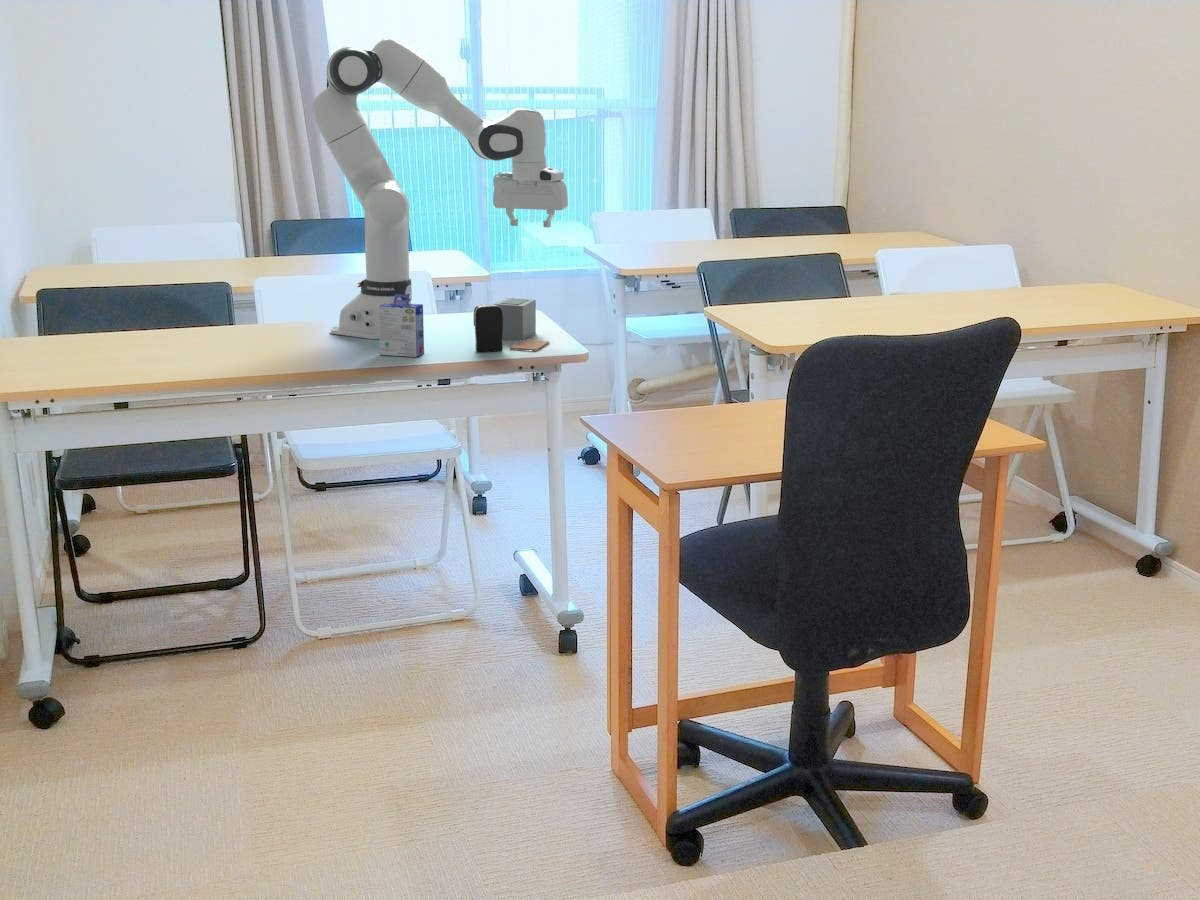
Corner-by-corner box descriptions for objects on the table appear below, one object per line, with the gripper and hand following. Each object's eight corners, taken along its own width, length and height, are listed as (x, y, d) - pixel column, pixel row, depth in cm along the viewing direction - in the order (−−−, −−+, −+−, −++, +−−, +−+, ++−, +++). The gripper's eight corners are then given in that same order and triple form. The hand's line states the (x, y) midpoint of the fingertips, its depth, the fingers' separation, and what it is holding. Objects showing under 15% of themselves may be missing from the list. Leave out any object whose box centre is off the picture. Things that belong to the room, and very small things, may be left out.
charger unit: (493, 338, 306) (493, 303, 303) (508, 330, 315) (507, 296, 313) (522, 340, 304) (522, 305, 301) (536, 332, 313) (536, 298, 311)
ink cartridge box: (425, 353, 288) (423, 294, 284) (417, 358, 283) (416, 298, 279) (387, 350, 290) (385, 292, 286) (378, 355, 285) (376, 296, 281)
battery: (500, 348, 295) (499, 302, 291) (503, 351, 291) (503, 305, 288) (472, 349, 293) (471, 304, 289) (476, 353, 289) (475, 306, 286)
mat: (509, 349, 293) (509, 347, 293) (523, 341, 303) (523, 339, 302) (536, 351, 292) (536, 349, 291) (549, 343, 301) (549, 341, 301)
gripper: (488, 173, 308) (489, 226, 312) (560, 174, 301) (561, 229, 306) (498, 171, 314) (499, 223, 318) (569, 172, 307) (570, 226, 311)
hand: (530, 226), depth 312 cm, fingers open, 8 cm apart
